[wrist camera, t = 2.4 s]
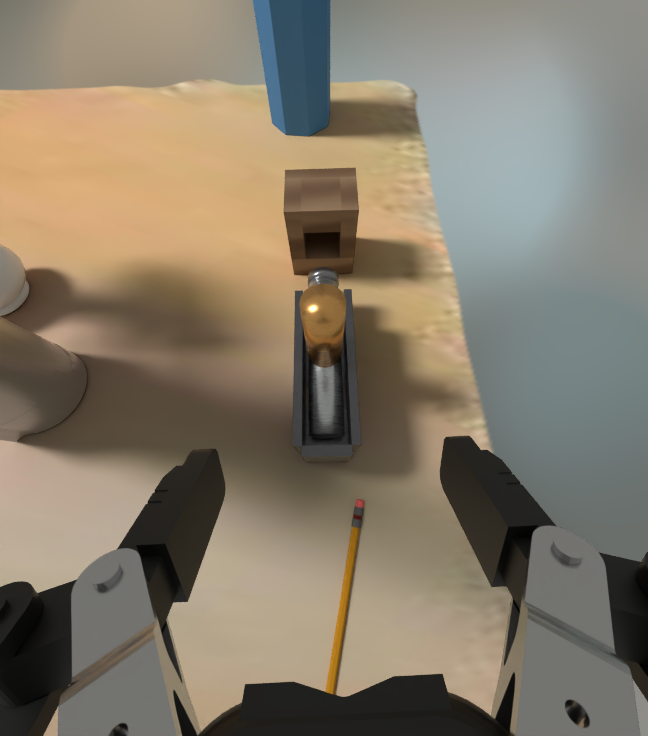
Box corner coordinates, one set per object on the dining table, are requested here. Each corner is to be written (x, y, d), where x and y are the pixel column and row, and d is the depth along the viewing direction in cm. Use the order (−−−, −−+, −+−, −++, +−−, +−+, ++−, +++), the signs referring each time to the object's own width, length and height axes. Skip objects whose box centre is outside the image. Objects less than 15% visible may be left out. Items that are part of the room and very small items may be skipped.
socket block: (352, 272, 36) (358, 209, 28) (294, 274, 37) (283, 211, 28) (349, 236, 38) (355, 167, 30) (294, 238, 39) (285, 170, 30)
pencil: (358, 499, 28) (354, 498, 27) (365, 501, 28) (361, 500, 27) (313, 785, 21) (307, 792, 21) (321, 792, 21) (315, 800, 20)
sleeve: (354, 461, 29) (361, 455, 23) (300, 462, 29) (292, 456, 23) (347, 324, 34) (351, 289, 28) (301, 325, 34) (295, 290, 28)
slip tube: (344, 437, 27) (353, 410, 17) (309, 438, 27) (297, 412, 17) (337, 286, 32) (341, 199, 22) (308, 286, 32) (299, 200, 22)
